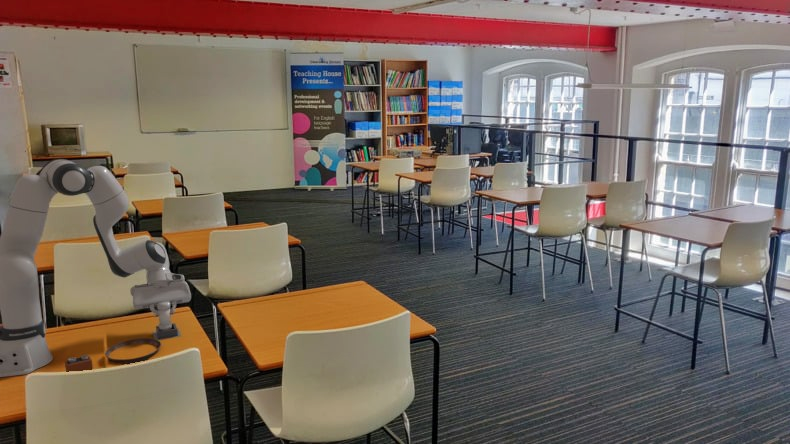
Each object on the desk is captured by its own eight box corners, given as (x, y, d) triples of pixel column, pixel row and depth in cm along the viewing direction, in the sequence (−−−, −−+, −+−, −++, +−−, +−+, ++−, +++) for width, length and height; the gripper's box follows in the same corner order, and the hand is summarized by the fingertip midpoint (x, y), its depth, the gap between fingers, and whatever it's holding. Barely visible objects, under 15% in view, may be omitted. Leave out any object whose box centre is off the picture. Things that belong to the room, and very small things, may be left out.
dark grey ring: (100, 370, 194) (99, 361, 193) (111, 348, 210) (110, 340, 210) (158, 364, 198) (157, 355, 197) (164, 343, 215) (164, 335, 214)
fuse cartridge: (159, 332, 216) (157, 305, 214) (158, 328, 220) (156, 302, 218) (172, 330, 218) (170, 304, 216) (171, 326, 222) (169, 300, 220)
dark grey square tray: (155, 343, 214) (154, 334, 213) (153, 335, 222) (152, 325, 221) (181, 339, 218) (180, 329, 217) (178, 330, 226) (177, 321, 225)
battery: (67, 388, 181) (64, 357, 179) (92, 382, 185) (88, 352, 183) (70, 393, 178) (66, 362, 176) (95, 387, 182) (91, 356, 180)
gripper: (129, 281, 217) (133, 315, 210) (188, 274, 226) (193, 306, 220) (129, 290, 222) (133, 323, 215) (187, 282, 231) (192, 314, 224)
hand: (164, 314), depth 218 cm, fingers closed on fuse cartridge, 4 cm apart
